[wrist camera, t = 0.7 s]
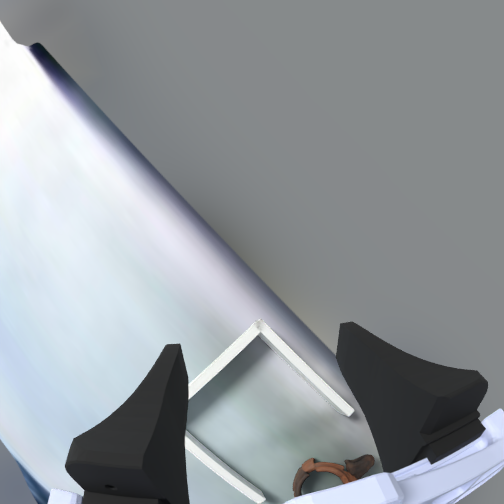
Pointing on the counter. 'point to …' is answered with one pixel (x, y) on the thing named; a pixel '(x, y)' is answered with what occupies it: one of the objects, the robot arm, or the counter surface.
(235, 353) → the u-shaped white bracket
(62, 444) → the counter surface
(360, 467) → the pottery mug
